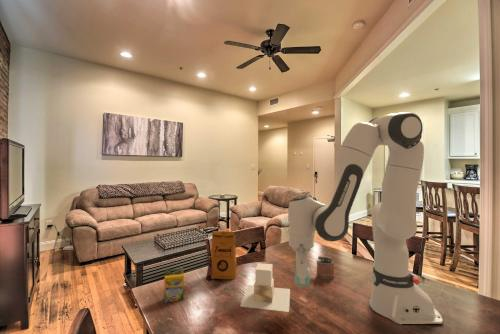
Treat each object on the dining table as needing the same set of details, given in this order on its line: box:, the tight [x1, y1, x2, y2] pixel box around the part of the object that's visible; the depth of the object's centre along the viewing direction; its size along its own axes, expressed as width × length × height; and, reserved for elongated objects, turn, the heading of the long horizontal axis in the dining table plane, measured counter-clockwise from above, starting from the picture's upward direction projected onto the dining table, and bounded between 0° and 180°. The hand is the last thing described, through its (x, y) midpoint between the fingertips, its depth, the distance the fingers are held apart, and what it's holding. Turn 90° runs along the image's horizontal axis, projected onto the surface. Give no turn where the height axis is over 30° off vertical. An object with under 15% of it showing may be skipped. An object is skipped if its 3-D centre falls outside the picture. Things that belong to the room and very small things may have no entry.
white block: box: [255, 262, 274, 286], centre depth 96 cm, size 6×6×6 cm
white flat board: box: [239, 284, 291, 313], centre depth 96 cm, size 18×16×1 cm
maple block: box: [253, 278, 275, 303], centre depth 96 cm, size 7×7×6 cm
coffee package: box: [210, 230, 238, 281], centre depth 114 cm, size 10×12×22 cm
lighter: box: [316, 255, 335, 280], centre depth 114 cm, size 8×3×10 cm, turn 84°
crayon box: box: [163, 268, 185, 303], centre depth 96 cm, size 7×3×12 cm, turn 105°
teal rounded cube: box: [294, 266, 311, 288], centre depth 88 cm, size 6×6×5 cm
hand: (302, 278), depth 88 cm, fingers closed on teal rounded cube, 5 cm apart
